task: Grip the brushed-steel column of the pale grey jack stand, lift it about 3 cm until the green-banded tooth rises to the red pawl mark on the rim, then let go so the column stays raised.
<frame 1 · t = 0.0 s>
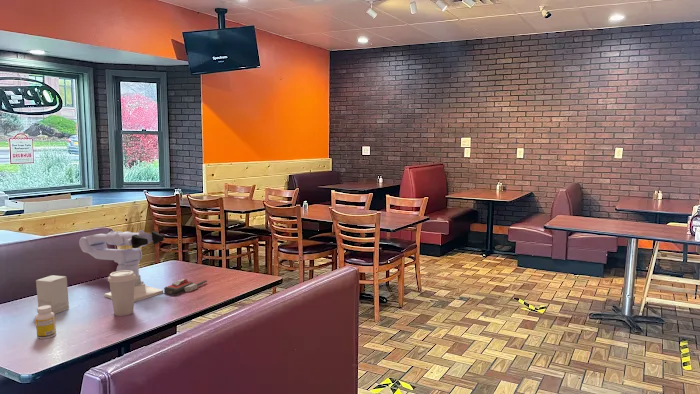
hand: (155, 240, 214), 22 cm above the table, tool horizontal, fingers open, 7 cm apart
walkie-talkie: (185, 290, 219), on the table
supplement box: (54, 311, 192), on the table
coffee cup: (124, 313, 189), on the table
column: (133, 283, 210), point 5 cm above the table, slide at 0.0 cm
jack stand base: (134, 294, 210), on the table
supplement bottle: (46, 336, 167), on the table
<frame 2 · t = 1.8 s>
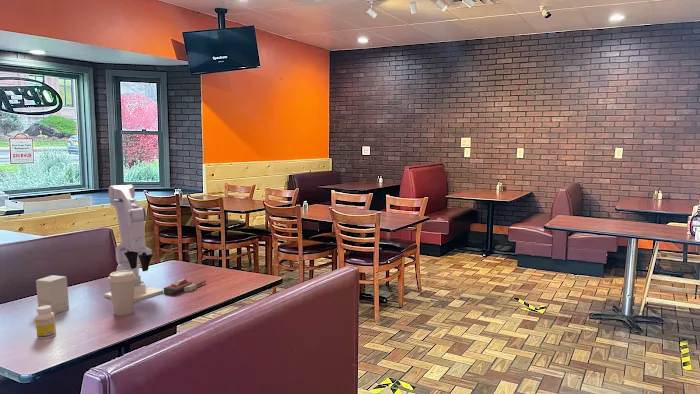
hand: (139, 269, 212), 10 cm above the table, tool pointing down, fingers open, 7 cm apart
nothing on the table moved.
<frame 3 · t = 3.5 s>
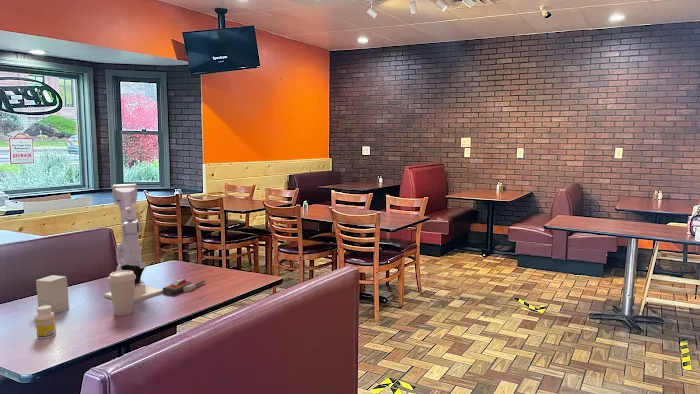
hand: (133, 282, 210), 5 cm above the table, tool pointing down, fingers closed on column, 4 cm apart
column: (133, 283, 210), point 5 cm above the table, slide at 0.0 cm, touching gripper
everything else where it was.
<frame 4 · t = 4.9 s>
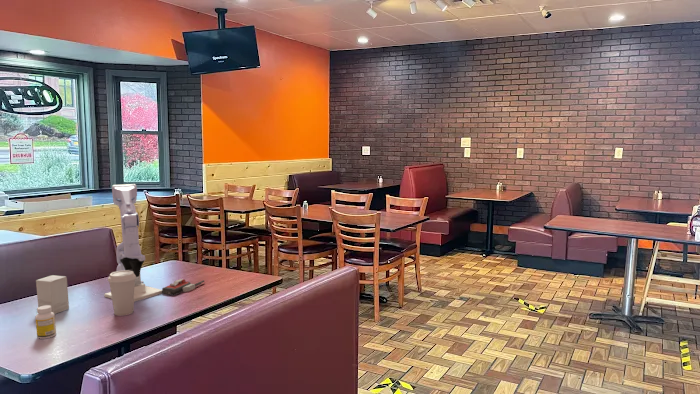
hand: (133, 275, 209), 8 cm above the table, tool pointing down, fingers closed on column, 4 cm apart
column: (133, 277, 209), point 7 cm above the table, slide at 2.5 cm, touching gripper
everything else where it was.
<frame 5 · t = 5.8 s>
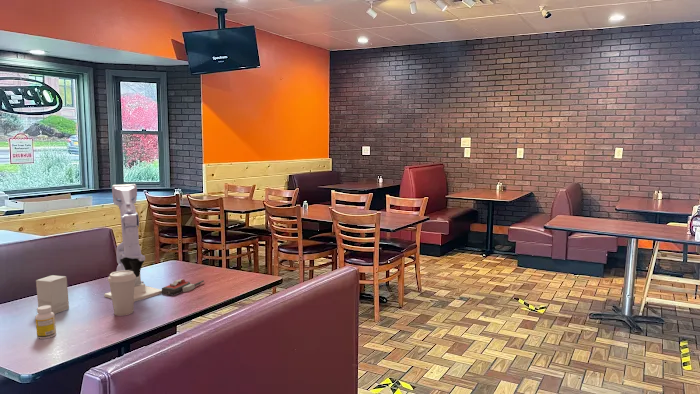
hand: (133, 275, 209), 8 cm above the table, tool pointing down, fingers closed on column, 4 cm apart
column: (133, 277, 209), point 7 cm above the table, slide at 2.5 cm, touching gripper
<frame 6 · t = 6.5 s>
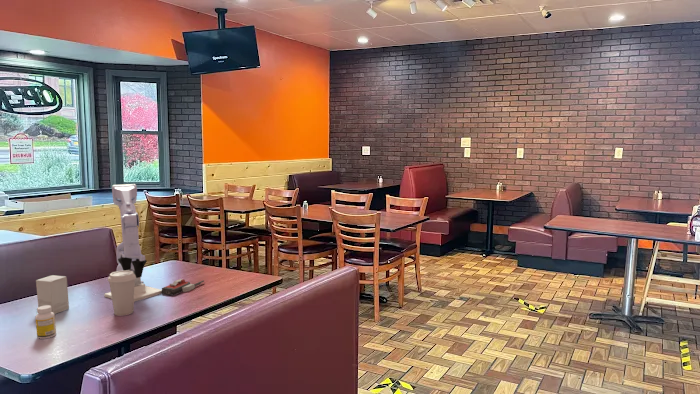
hand: (133, 275, 209), 8 cm above the table, tool pointing down, fingers open, 7 cm apart
column: (133, 277, 209), point 7 cm above the table, slide at 2.5 cm
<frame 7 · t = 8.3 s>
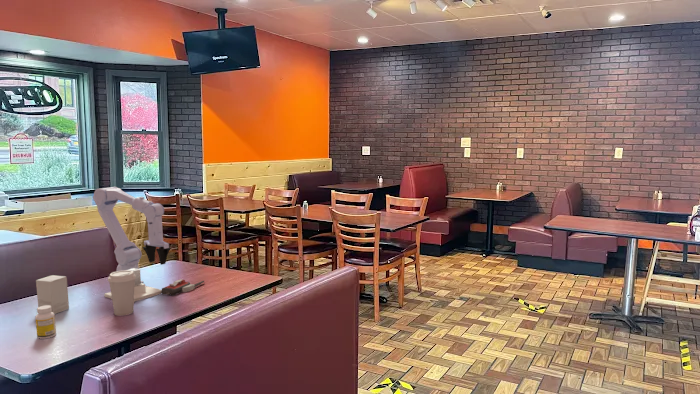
hand: (157, 263, 221), 10 cm above the table, tool pointing down, fingers open, 7 cm apart
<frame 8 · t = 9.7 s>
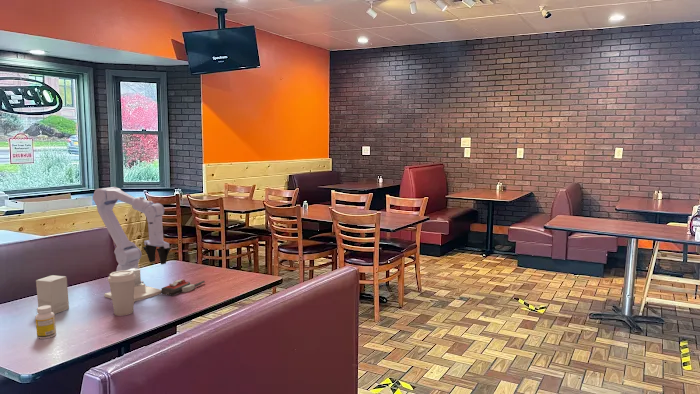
hand: (157, 262, 221), 10 cm above the table, tool pointing down, fingers open, 7 cm apart
at the end: column slide at 2.5 cm; the gripper is holding nothing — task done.
